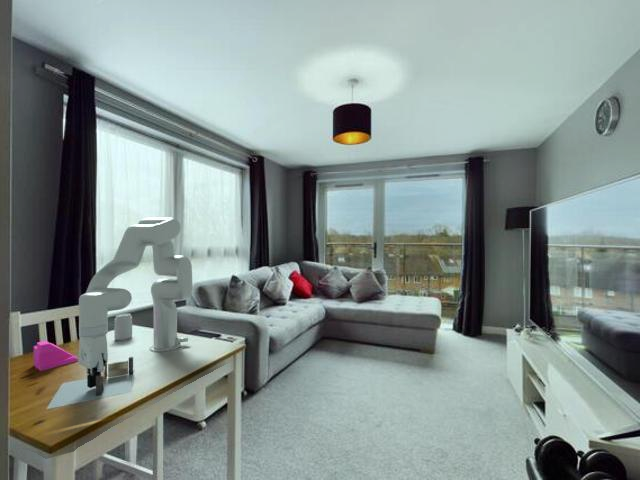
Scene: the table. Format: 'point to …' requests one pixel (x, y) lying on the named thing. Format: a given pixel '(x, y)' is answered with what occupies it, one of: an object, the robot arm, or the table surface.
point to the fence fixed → (115, 372)
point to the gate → (103, 379)
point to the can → (123, 326)
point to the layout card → (90, 390)
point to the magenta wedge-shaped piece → (51, 356)
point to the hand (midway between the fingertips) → (94, 385)
